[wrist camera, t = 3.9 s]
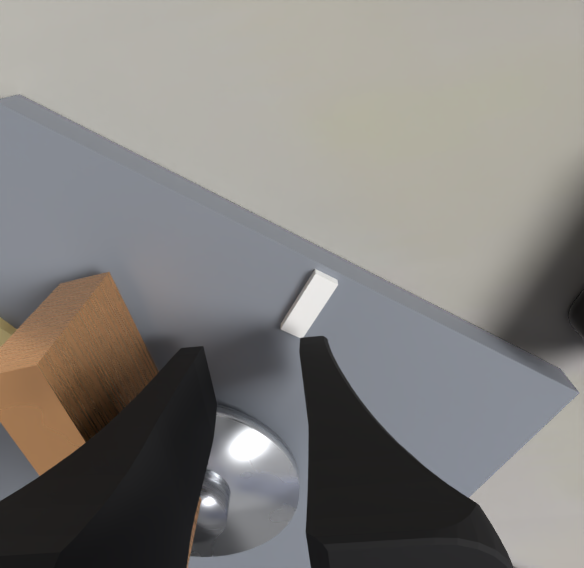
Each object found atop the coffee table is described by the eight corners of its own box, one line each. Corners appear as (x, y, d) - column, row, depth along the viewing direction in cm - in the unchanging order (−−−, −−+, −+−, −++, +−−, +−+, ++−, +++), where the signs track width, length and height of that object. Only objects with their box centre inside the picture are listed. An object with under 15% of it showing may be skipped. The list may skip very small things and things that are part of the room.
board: (560, 368, 16) (584, 399, 15) (320, 607, 23) (322, 643, 21) (19, 94, 12) (-15, 102, 11) (-79, 479, 19) (-108, 513, 17)
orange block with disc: (320, 527, 18) (326, 664, 14) (143, 556, 18) (103, 692, 15) (214, 239, 12) (178, 333, 8) (-26, 299, 13) (-157, 408, 9)
